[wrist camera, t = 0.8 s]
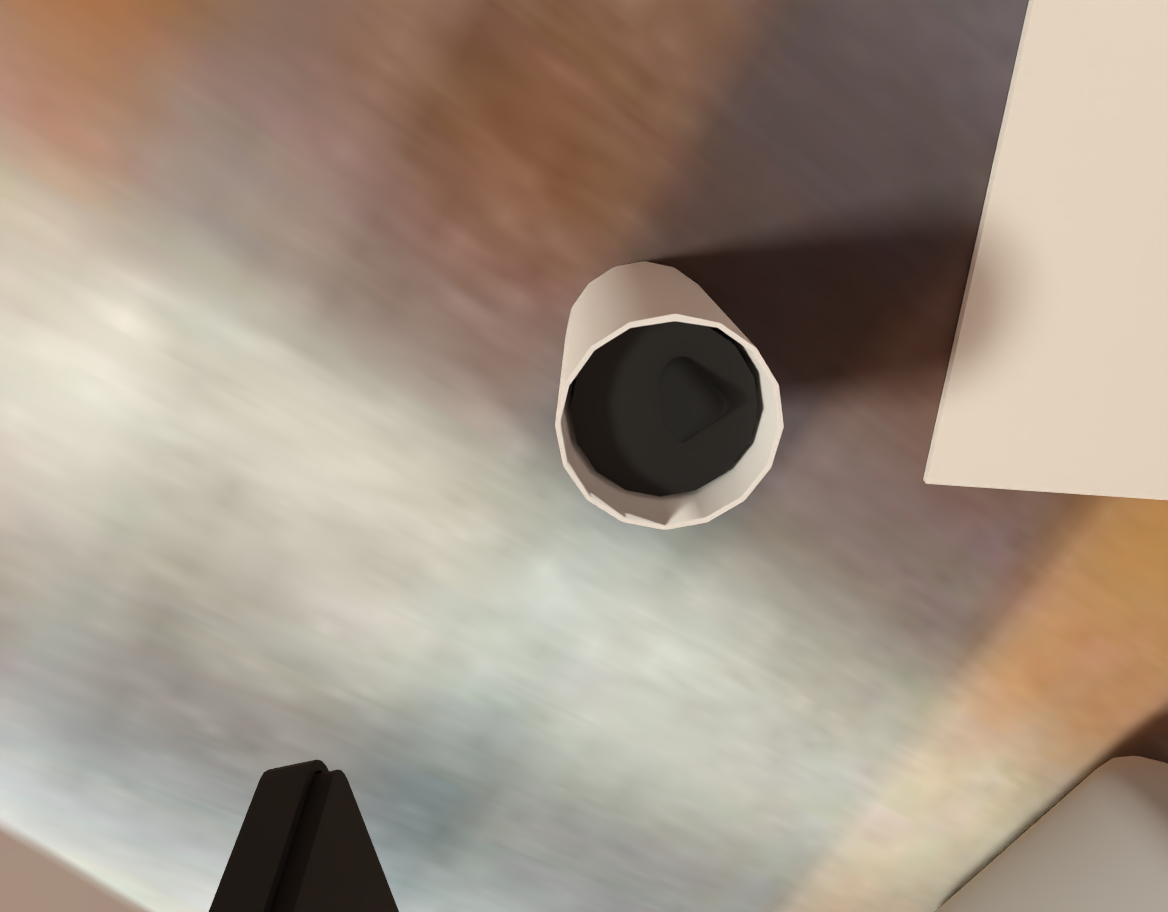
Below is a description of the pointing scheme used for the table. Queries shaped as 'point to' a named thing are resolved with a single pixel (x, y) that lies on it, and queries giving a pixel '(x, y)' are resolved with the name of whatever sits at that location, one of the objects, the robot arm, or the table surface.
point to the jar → (1086, 850)
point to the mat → (1069, 268)
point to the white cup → (662, 400)
